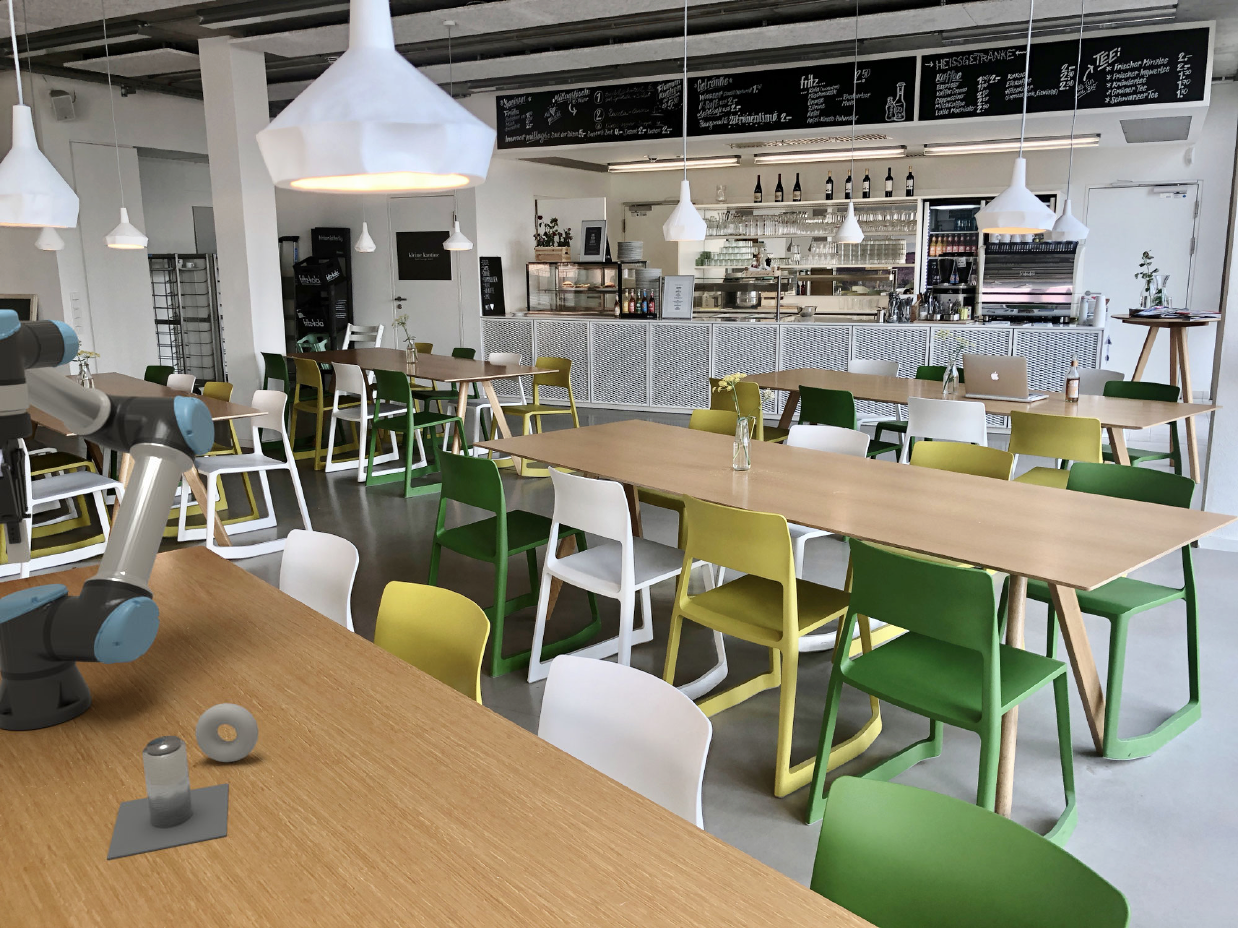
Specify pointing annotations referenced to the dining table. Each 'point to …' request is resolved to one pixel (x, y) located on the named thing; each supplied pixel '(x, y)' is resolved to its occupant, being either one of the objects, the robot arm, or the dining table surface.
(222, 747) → the donut
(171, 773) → the shaker
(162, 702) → the dining table surface
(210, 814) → the mat
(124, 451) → the robot arm
